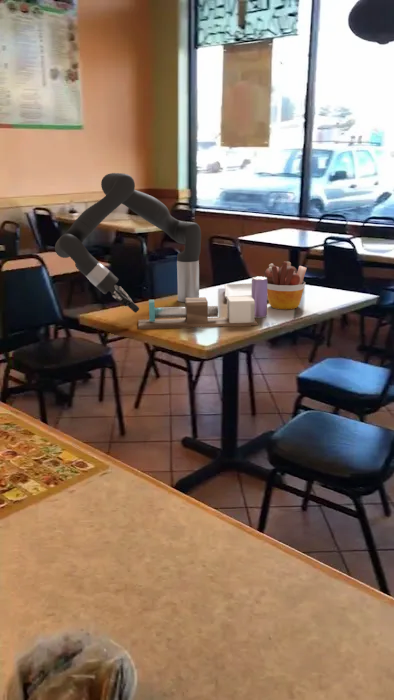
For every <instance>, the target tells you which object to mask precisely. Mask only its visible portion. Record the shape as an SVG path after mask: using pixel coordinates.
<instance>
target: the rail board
mask: <svg viewBox="0 0 394 700" xmlns="http://www.w3.org/2000/svg"><path fill="white" fill-rule="evenodd" d="M184 303H185V307H187V318H156V319H155V321H149V318H148V319H147V318H146V319H145V318H144V319H138V330H149V329H182V328H183V329H184V328H186V329H187V328H216V327H217V328H218V326H223V327H246V326H247V327H249V326H251V325H257V326H258V322H257V320H256V319H255V318H254V322H253V323H229V319H227V316H226V317H225V316H223V317H221V316H220V317H219V316H218V317H208V306H209V305H208V304H209V302H208V300H207V297H205V296H204V297H203V296H202V297H200V296H199V298H185V302H184ZM251 327H252V326H251Z"/></svg>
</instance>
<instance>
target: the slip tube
mask: <svg viewBox="0 0 394 700" xmlns="http://www.w3.org/2000/svg"><path fill="white" fill-rule="evenodd" d="M148 313H149V314H148V315H149V317H148V319H149V321H155V319H181V318H187V307H186V306H170V307H169V306H165V307H164V306H162V307H159V306H158V307H155V299H148ZM217 317H219V306H218V305H208V318H217Z"/></svg>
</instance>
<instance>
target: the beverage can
mask: <svg viewBox="0 0 394 700" xmlns="http://www.w3.org/2000/svg"><path fill="white" fill-rule="evenodd" d="M251 283H252V296H251V297H252V298H253V299H254V301H255V315H254V319H255V318H256V319H264V318H266V317H267V316H268V302H267V284H268V281H267V277H265V276H253V277H252V278H251Z"/></svg>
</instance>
